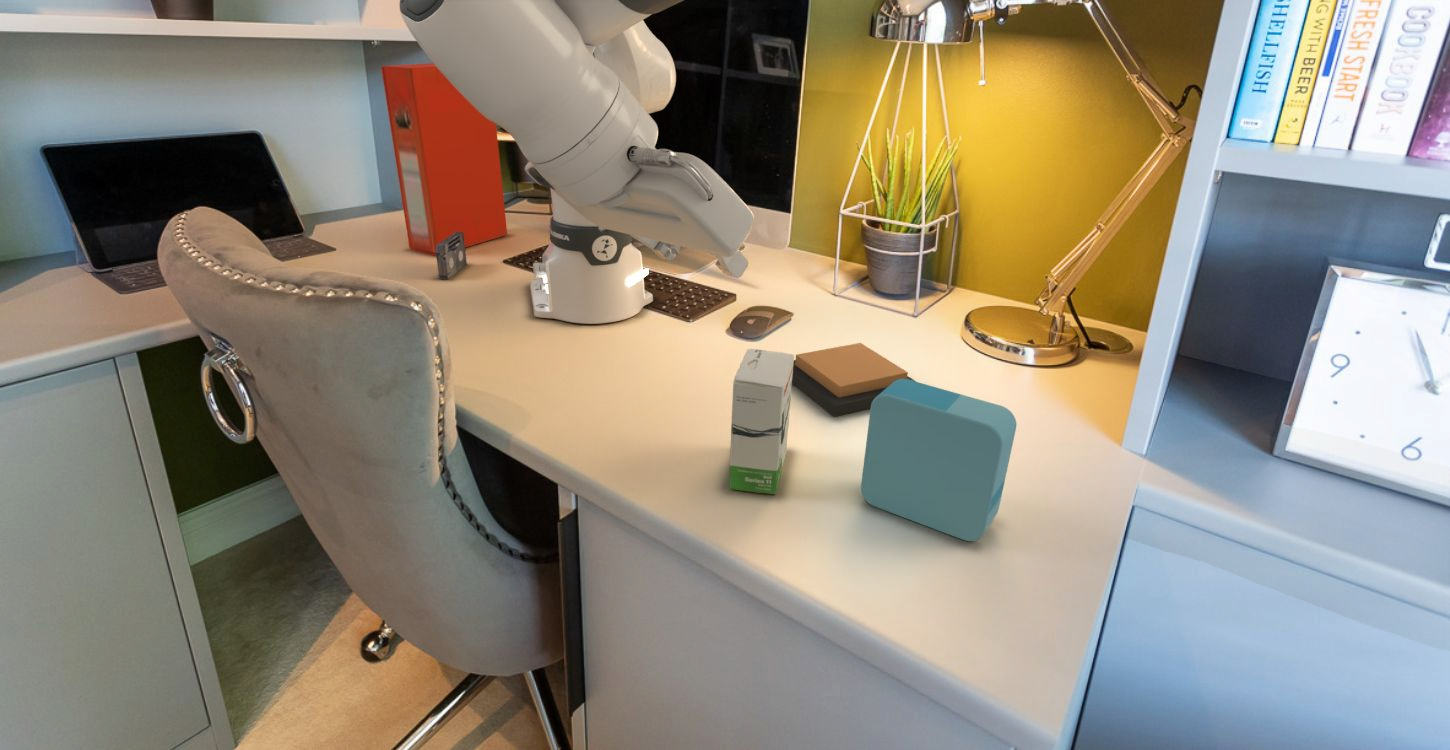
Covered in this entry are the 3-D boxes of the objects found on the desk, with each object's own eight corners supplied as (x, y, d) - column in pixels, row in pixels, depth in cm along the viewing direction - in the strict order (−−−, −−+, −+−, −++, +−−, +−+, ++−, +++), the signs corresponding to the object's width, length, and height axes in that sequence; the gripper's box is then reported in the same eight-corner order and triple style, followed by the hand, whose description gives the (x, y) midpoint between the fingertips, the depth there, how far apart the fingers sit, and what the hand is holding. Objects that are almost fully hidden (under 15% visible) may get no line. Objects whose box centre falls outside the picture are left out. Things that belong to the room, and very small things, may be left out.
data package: (996, 523, 73) (1020, 410, 68) (980, 547, 70) (1005, 430, 65) (877, 480, 79) (891, 373, 74) (858, 501, 76) (871, 390, 70)
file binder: (408, 249, 146) (380, 65, 132) (478, 229, 159) (459, 60, 146) (439, 256, 142) (413, 68, 129) (507, 235, 156) (491, 63, 142)
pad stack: (778, 373, 102) (779, 351, 100) (860, 357, 107) (863, 336, 106) (834, 417, 91) (836, 394, 90) (922, 397, 96) (925, 375, 95)
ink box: (776, 496, 76) (784, 387, 71) (727, 490, 77) (730, 381, 72) (788, 451, 84) (795, 350, 79) (743, 445, 85) (747, 345, 79)
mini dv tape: (458, 264, 138) (454, 231, 136) (467, 265, 138) (463, 231, 136) (439, 279, 131) (434, 244, 129) (448, 279, 131) (443, 244, 128)
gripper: (706, 116, 51) (808, 249, 60) (560, 113, 66) (659, 220, 75) (651, 190, 50) (763, 315, 59) (515, 170, 65) (621, 272, 74)
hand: (703, 261), depth 67 cm, fingers open, 8 cm apart
